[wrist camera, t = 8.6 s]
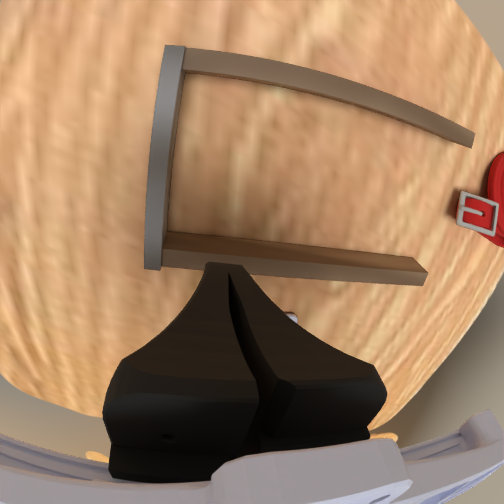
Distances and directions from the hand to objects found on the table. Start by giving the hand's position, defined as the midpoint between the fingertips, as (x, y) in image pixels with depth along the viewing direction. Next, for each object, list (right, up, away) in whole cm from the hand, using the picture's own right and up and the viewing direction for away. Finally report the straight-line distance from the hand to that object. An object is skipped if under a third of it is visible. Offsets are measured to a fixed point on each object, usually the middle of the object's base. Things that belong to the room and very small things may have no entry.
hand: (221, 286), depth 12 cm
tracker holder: (+23, +7, +11) cm, 26 cm away
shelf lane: (+5, +6, +8) cm, 12 cm away
